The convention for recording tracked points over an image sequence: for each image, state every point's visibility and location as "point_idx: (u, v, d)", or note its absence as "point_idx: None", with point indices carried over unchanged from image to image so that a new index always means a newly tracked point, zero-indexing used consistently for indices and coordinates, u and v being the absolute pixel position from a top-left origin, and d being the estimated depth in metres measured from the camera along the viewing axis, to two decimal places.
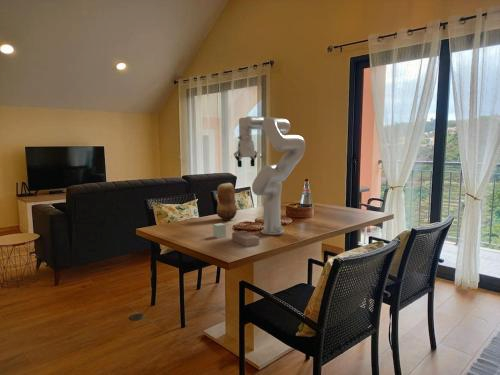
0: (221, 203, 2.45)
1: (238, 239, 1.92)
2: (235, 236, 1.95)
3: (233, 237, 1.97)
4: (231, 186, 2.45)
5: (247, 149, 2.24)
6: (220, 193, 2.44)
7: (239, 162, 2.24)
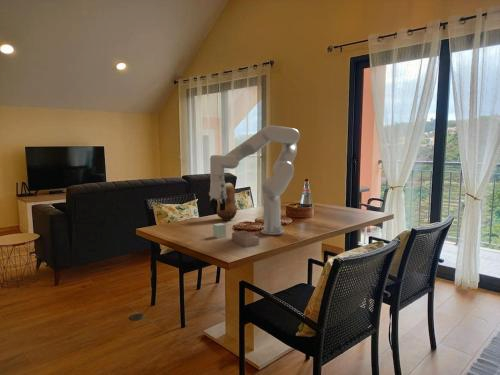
0: None
1: (238, 239, 1.92)
2: (235, 236, 1.95)
3: (233, 237, 1.97)
4: (231, 186, 2.45)
5: None
6: None
7: None
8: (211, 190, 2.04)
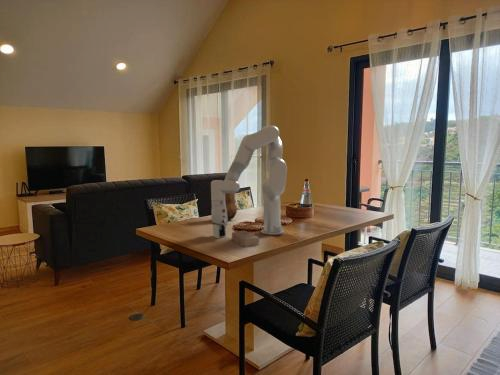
0: None
1: (238, 239, 1.92)
2: (235, 236, 1.95)
3: (233, 237, 1.97)
4: None
5: None
6: None
7: (223, 231, 2.04)
8: (212, 215, 2.06)
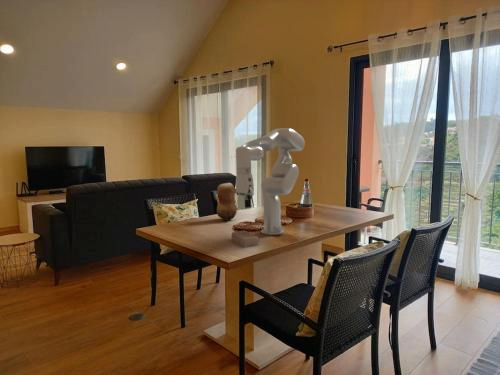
0: (221, 203, 2.45)
1: (237, 239, 1.92)
2: (235, 236, 1.95)
3: (233, 237, 1.97)
4: (231, 186, 2.45)
5: None
6: (220, 193, 2.44)
7: (249, 201, 1.89)
8: (237, 184, 1.91)
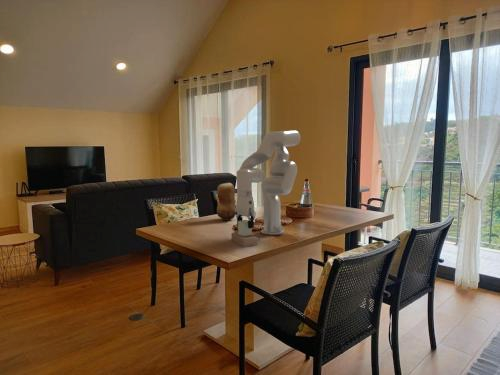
0: (221, 203, 2.45)
1: (237, 239, 1.92)
2: (234, 236, 1.95)
3: (232, 237, 1.97)
4: (231, 186, 2.45)
5: None
6: (220, 193, 2.44)
7: (252, 222, 1.89)
8: (238, 206, 1.92)
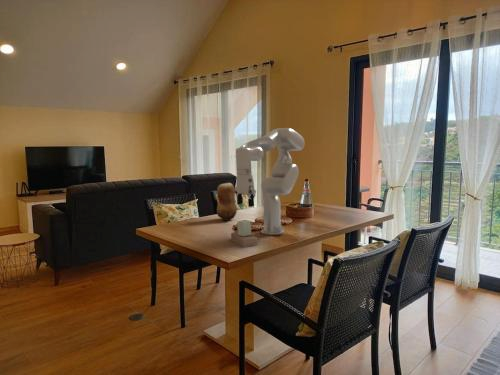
0: (221, 203, 2.45)
1: (236, 239, 1.92)
2: (234, 236, 1.95)
3: (232, 237, 1.97)
4: (231, 186, 2.45)
5: None
6: (220, 193, 2.44)
7: (252, 200, 1.88)
8: (238, 185, 1.91)
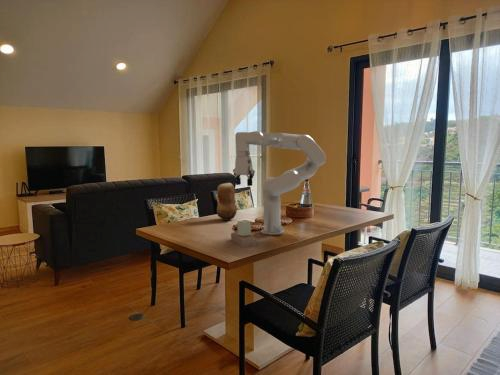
0: (221, 203, 2.45)
1: (236, 239, 1.91)
2: (233, 236, 1.95)
3: (232, 237, 1.97)
4: (231, 186, 2.45)
5: None
6: (220, 193, 2.44)
7: (251, 180, 2.05)
8: (237, 167, 2.08)
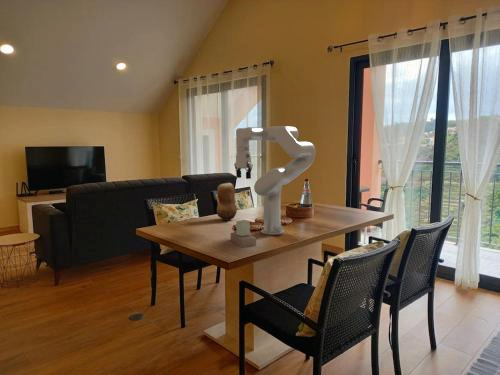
0: (221, 203, 2.45)
1: (235, 239, 1.91)
2: (233, 236, 1.95)
3: (231, 237, 1.97)
4: (231, 186, 2.45)
5: None
6: (220, 193, 2.44)
7: (250, 173, 2.19)
8: (237, 161, 2.23)
